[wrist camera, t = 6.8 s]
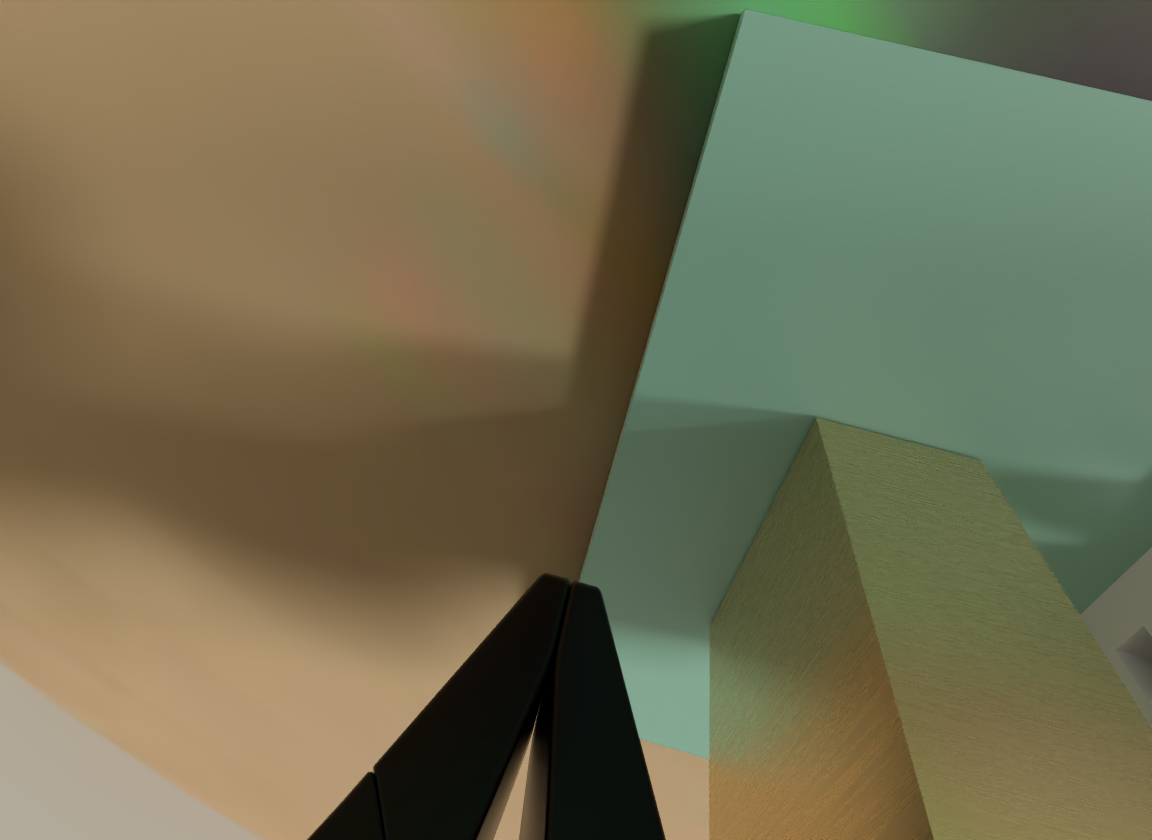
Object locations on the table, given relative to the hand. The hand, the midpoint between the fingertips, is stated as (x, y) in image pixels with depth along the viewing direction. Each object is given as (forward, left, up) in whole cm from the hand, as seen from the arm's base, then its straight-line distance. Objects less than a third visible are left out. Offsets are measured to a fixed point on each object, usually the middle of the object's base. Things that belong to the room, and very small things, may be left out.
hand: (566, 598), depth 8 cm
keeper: (-6, 0, -2) cm, 6 cm away
